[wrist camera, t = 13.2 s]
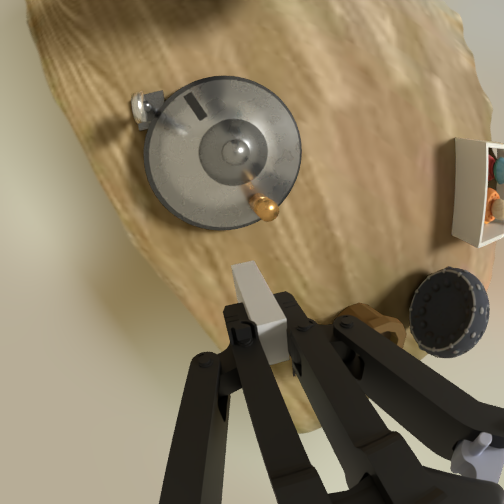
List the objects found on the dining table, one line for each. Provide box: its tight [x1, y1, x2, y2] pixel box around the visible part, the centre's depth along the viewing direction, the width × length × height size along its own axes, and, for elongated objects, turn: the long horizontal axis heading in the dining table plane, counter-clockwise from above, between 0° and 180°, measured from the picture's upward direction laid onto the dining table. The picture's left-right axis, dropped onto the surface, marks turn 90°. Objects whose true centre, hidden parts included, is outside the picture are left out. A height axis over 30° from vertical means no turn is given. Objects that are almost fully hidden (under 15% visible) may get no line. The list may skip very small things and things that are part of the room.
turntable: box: [149, 80, 300, 227], centre depth 33 cm, size 20×20×6 cm
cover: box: [198, 119, 268, 186], centre depth 32 cm, size 8×8×6 cm
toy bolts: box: [484, 154, 504, 224], centre depth 47 cm, size 18×17×12 cm
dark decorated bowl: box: [409, 266, 490, 358], centre depth 50 cm, size 11×20×20 cm, turn 156°
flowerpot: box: [337, 303, 407, 348], centre depth 42 cm, size 14×14×30 cm
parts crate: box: [451, 138, 504, 248], centre depth 48 cm, size 23×24×9 cm
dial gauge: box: [131, 90, 165, 131], centre depth 30 cm, size 5×4×8 cm
